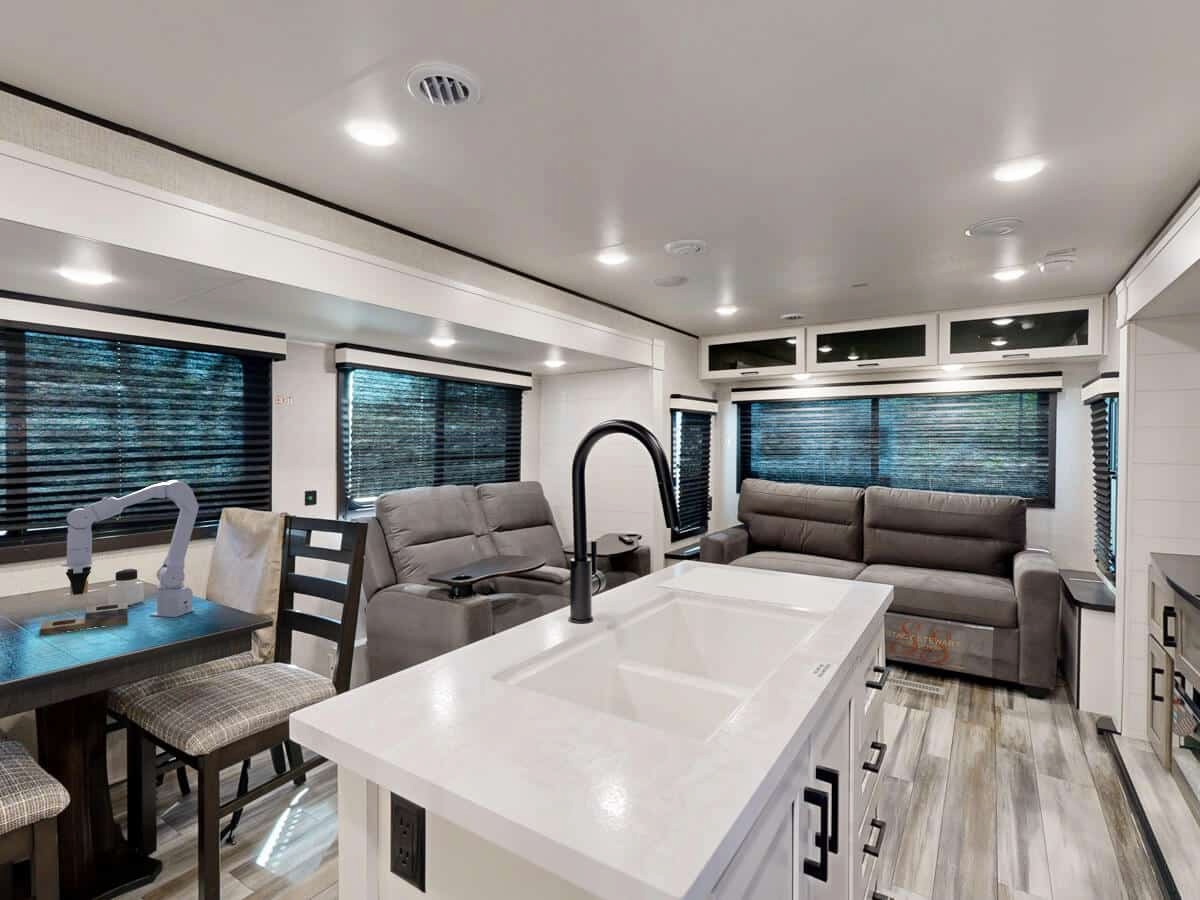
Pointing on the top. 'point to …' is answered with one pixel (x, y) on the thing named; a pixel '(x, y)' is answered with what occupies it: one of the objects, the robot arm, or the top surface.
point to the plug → (79, 595)
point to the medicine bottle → (126, 588)
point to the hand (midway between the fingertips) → (78, 592)
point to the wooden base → (89, 619)
